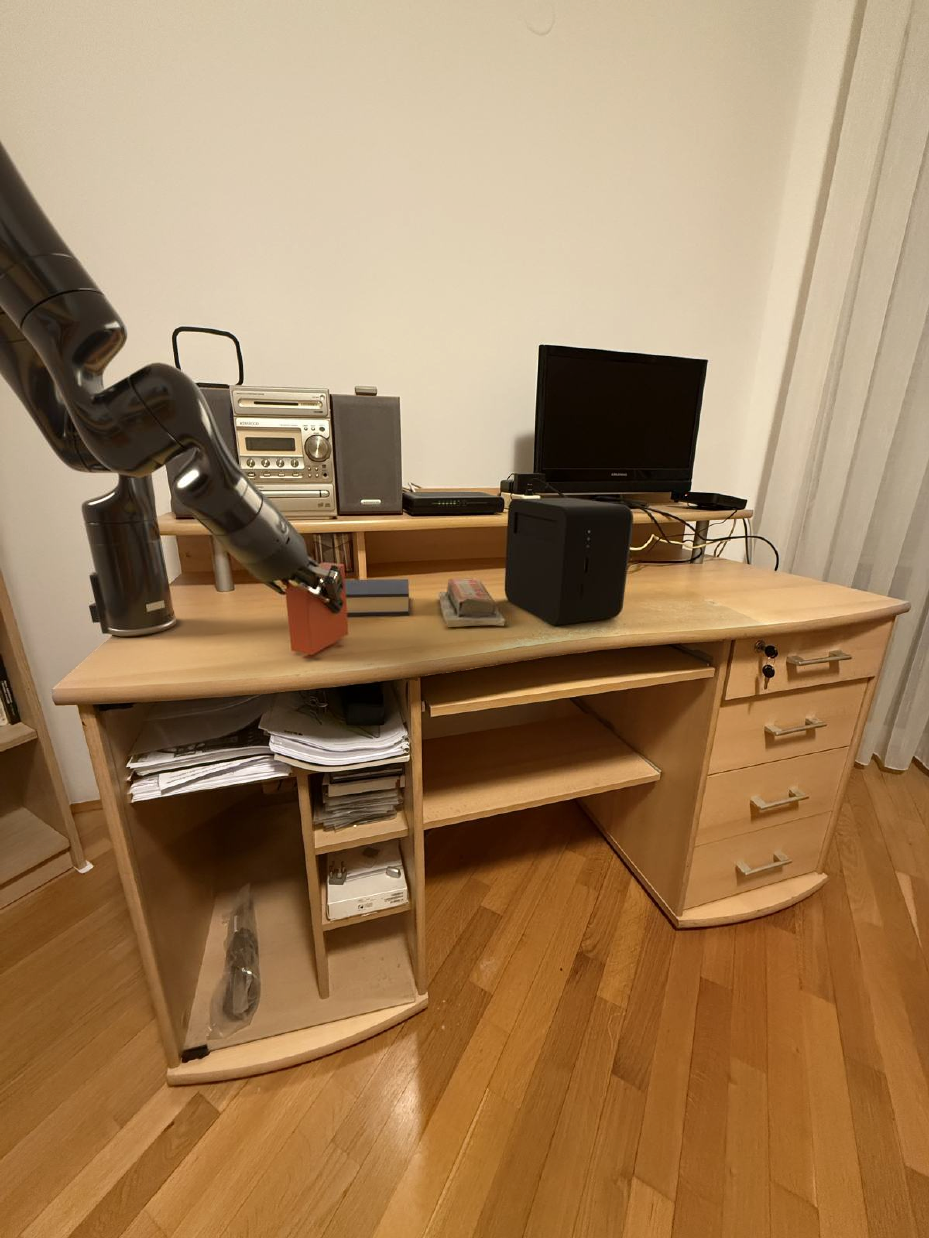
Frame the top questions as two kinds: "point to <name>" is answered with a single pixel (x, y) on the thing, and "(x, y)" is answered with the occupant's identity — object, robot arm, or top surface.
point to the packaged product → (468, 604)
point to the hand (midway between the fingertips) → (326, 606)
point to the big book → (377, 597)
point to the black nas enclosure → (567, 558)
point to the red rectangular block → (314, 618)
